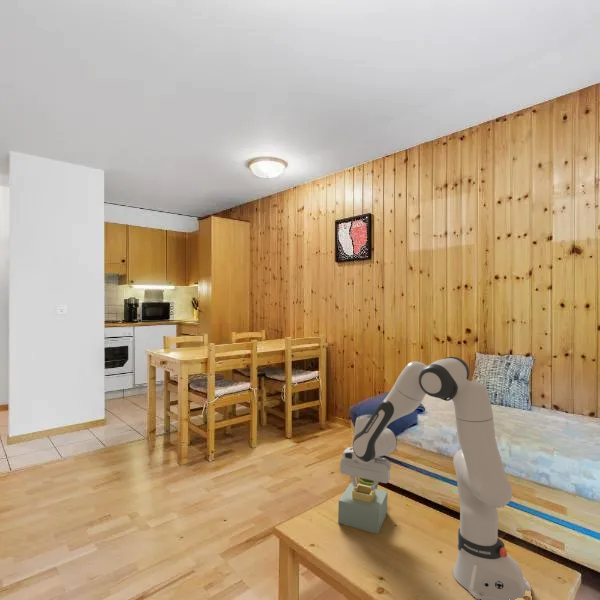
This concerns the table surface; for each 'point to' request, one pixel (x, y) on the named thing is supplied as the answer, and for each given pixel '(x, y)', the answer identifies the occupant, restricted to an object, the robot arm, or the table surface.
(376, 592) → the table surface
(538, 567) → the table surface
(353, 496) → the box with square opening
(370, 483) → the plant pot
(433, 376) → the robot arm
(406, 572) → the table surface
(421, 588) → the table surface
